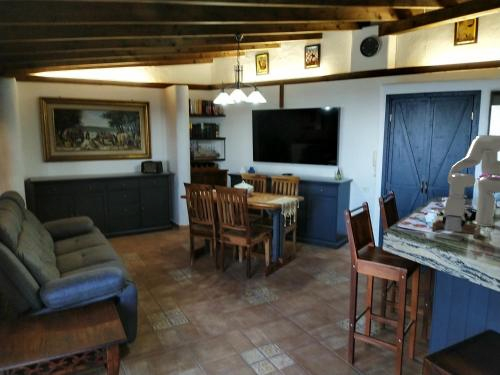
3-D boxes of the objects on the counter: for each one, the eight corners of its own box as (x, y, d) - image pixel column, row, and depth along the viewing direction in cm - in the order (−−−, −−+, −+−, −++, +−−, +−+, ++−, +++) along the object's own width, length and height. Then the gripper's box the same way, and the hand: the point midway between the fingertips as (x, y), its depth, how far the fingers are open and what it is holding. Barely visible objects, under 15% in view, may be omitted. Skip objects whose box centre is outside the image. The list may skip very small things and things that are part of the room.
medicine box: (458, 229, 224) (459, 215, 223) (461, 231, 220) (463, 217, 218) (444, 229, 225) (445, 215, 224) (447, 231, 221) (448, 216, 219)
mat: (441, 233, 227) (441, 232, 227) (464, 237, 220) (464, 236, 220) (436, 237, 218) (436, 236, 218) (459, 241, 211) (459, 240, 211)
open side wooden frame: (436, 227, 241) (437, 219, 240) (478, 234, 227) (479, 226, 226) (432, 231, 232) (432, 223, 231) (475, 238, 217) (476, 230, 217)
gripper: (474, 197, 216) (471, 226, 219) (441, 193, 227) (438, 221, 230) (472, 199, 211) (468, 229, 214) (438, 195, 221) (435, 223, 224)
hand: (453, 225), depth 222 cm, fingers closed on medicine box, 9 cm apart
